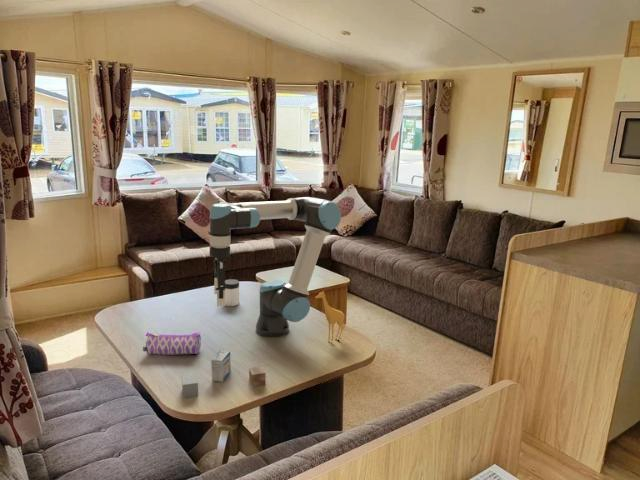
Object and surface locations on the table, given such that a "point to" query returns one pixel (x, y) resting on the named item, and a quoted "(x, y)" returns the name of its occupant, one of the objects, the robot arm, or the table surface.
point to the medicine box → (221, 366)
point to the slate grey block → (190, 386)
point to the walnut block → (257, 376)
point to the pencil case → (172, 344)
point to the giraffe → (332, 315)
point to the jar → (231, 292)
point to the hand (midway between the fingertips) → (219, 299)
